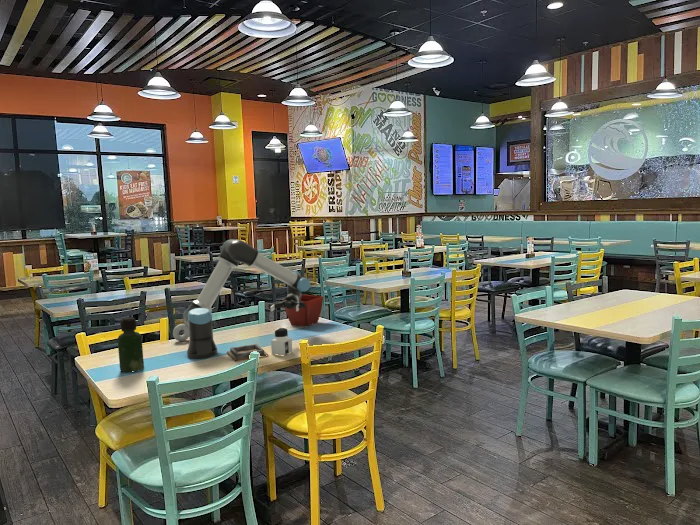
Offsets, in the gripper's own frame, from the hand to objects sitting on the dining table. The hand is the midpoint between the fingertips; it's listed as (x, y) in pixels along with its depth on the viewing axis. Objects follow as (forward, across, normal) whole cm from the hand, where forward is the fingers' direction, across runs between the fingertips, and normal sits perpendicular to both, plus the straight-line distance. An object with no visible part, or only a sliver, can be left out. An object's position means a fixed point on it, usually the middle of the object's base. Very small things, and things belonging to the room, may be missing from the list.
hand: (283, 309), depth 268 cm
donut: (-18, +64, -21) cm, 69 cm away
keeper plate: (+11, +18, -21) cm, 30 cm away
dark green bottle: (+33, +68, -21) cm, 78 cm away
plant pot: (-56, -1, -22) cm, 60 cm away
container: (+10, 0, -21) cm, 23 cm away
